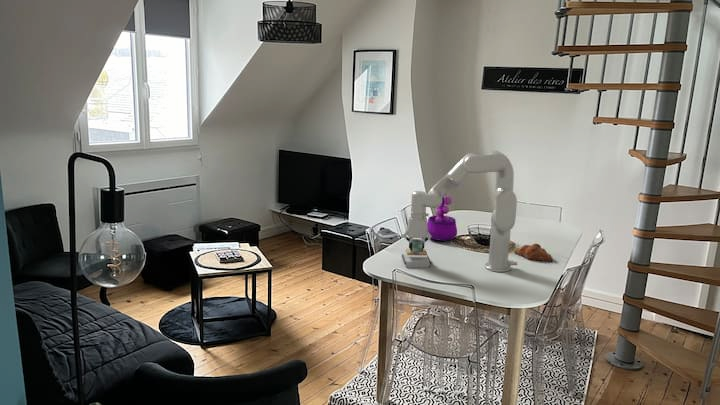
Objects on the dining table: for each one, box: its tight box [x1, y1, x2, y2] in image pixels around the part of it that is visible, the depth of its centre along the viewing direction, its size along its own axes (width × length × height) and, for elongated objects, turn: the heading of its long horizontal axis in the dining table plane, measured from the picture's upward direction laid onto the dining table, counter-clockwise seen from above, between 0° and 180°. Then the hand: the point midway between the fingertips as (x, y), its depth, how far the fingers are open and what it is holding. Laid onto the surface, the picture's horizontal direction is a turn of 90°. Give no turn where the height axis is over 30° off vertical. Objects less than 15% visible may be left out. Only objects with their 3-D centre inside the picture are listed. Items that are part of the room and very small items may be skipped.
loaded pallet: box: [405, 238, 428, 255], centre depth 270 cm, size 10×6×7 cm, turn 92°
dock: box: [401, 253, 432, 268], centre depth 272 cm, size 14×12×3 cm
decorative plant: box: [427, 193, 458, 242], centre depth 311 cm, size 19×18×30 cm
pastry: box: [513, 243, 554, 263], centre depth 284 cm, size 17×15×8 cm
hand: (416, 249), depth 270 cm, fingers closed on loaded pallet, 5 cm apart
